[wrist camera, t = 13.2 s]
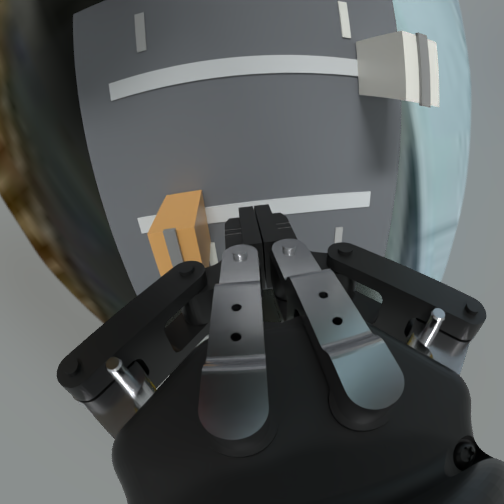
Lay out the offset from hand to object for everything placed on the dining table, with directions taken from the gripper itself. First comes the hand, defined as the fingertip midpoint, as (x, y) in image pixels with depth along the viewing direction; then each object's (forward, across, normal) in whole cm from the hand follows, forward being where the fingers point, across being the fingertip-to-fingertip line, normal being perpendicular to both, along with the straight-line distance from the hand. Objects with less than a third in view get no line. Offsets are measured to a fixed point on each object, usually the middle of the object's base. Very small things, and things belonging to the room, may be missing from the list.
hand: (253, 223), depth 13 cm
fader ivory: (+2, -7, -8) cm, 11 cm away
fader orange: (+2, +4, 0) cm, 4 cm away
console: (+4, 0, -4) cm, 5 cm away
